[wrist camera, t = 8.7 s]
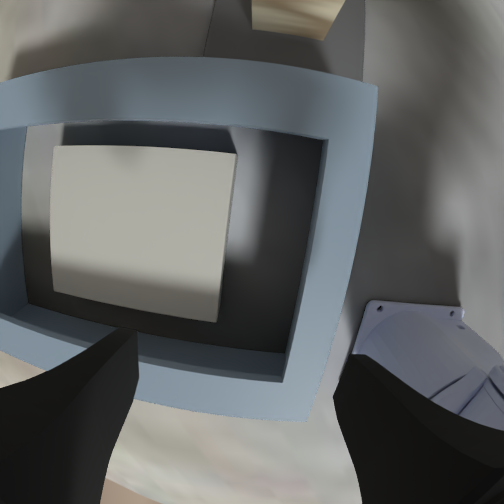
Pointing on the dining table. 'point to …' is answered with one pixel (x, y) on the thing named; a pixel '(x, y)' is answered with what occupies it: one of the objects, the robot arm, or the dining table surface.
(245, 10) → the mat
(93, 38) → the dining table surface
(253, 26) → the birch post
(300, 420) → the box
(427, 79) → the dining table surface
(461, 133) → the dining table surface
